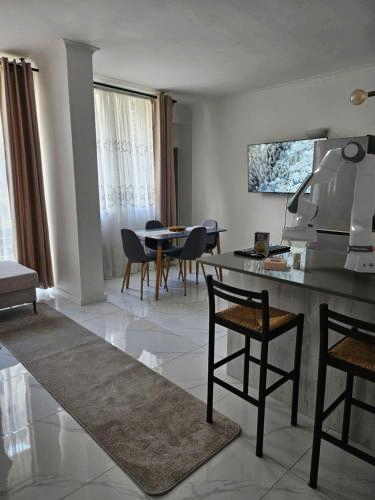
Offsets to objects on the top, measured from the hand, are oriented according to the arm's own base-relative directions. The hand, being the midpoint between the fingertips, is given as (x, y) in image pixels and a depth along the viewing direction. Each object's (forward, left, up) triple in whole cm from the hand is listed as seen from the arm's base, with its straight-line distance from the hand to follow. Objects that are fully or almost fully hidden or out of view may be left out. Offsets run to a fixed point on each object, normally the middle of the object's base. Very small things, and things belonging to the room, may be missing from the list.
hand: (298, 246), depth 204 cm
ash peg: (0, +8, -12) cm, 14 cm away
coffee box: (+25, -22, -12) cm, 35 cm away
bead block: (+12, +9, -12) cm, 19 cm away
